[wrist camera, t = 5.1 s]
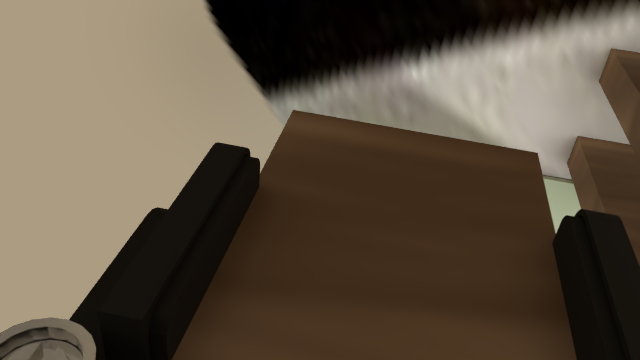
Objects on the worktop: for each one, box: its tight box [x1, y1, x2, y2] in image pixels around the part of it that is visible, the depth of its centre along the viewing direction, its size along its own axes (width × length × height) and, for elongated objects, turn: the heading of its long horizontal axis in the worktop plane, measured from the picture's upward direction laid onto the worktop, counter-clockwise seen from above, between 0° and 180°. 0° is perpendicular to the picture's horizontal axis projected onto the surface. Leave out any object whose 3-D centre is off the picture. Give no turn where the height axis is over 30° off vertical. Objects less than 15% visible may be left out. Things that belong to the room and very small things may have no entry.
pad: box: [543, 176, 581, 233], centre depth 31 cm, size 6×7×1 cm
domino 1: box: [172, 110, 577, 360], centre depth 8 cm, size 2×5×10 cm, turn 84°
